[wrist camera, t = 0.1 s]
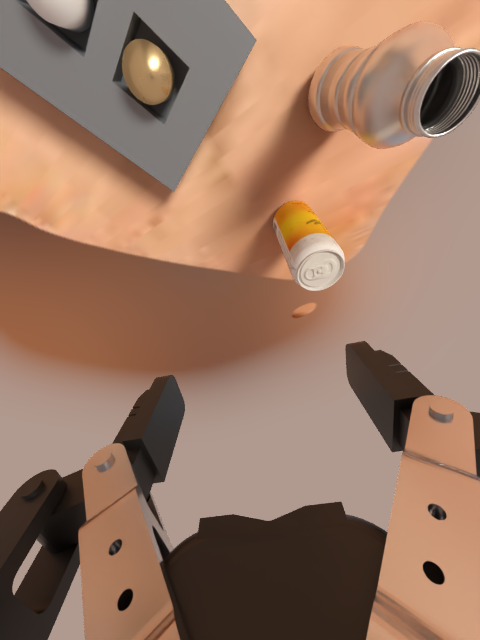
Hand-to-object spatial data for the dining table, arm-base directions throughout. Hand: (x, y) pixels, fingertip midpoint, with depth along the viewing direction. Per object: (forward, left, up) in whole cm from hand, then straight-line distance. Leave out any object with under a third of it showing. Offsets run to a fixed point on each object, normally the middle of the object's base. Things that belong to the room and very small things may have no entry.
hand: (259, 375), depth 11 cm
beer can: (+11, +1, -32) cm, 33 cm away
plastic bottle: (+4, +14, -32) cm, 35 cm away
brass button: (-13, +3, -29) cm, 32 cm away
